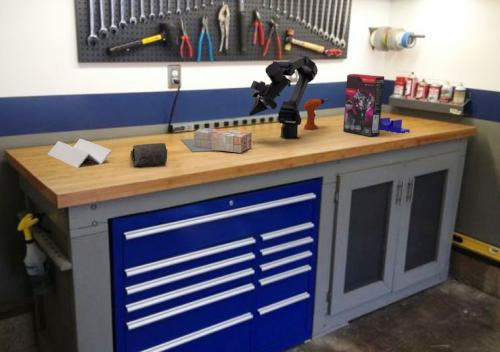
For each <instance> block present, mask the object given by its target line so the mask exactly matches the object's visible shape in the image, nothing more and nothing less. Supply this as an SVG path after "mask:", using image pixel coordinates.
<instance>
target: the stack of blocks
mask: <svg viewBox="0 0 500 352" xmlns="http://www.w3.org/2000/svg"><path fill="white" fill-rule="evenodd" d="M252 134H253V133H252V132H251V131H244V130H234V129H221V128H220V129H217V128H210V127H209V128H208V127H202V128H199V129H197V130H194V131H193V139H194V147H204V148H212V150H221V151H220V152H230V153H231V152H232V153H240V154H242V153H244V152H245V151H247V150H249V149H250V148H252V140H253V139H252V136H253V135H252Z"/></svg>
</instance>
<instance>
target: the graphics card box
mask: <svg viewBox="0 0 500 352" xmlns="http://www.w3.org/2000/svg"><path fill="white" fill-rule="evenodd" d="M384 85H385V76H384V75H372V74H371V75H370V74H369V75H368V74H361V73H349V74H347V75H346V85H345V86H346V88H345V103H344V114H343V115H344V116H343V125H342V126H343V129H342V132H344V133H351V134H356V135H357V134H358V135H361V136H367V137H376V136H379V135H380V131H381V130H380V120H381V118H382V117H381V116H382V107H383V93H384Z"/></svg>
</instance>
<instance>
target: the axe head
mask: <svg viewBox="0 0 500 352" xmlns="http://www.w3.org/2000/svg"><path fill="white" fill-rule="evenodd" d="M167 150H168V149H167V145H166V143H165V142H158V143H157V142H156V143H144V144H143V143H142V144H133V146H132V150H131V151H130V154H131V157H132V159H133V160H132V161H133V166H134V168H135V167H148V166H157V165H161V164H166V163H167V159H168V151H167Z"/></svg>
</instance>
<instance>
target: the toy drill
mask: <svg viewBox="0 0 500 352" xmlns="http://www.w3.org/2000/svg"><path fill="white" fill-rule="evenodd" d="M327 101H330V98H326V99H323V98H321V99H319V98H314V99H312V98H310V99H308V100H307V101H306V102H305V103H304V106H303V107H304V111H306V114H307V117H306V118H307V119H306V123H305V124H304V126H303V129H304V130H307V131H310V130H317V129H318V125H316V124H315V119H316V118H315V117H316V114H315V110H317V109H318V108H320V107H321V106H322V105H323V104H324V103H326V102H327Z"/></svg>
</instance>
